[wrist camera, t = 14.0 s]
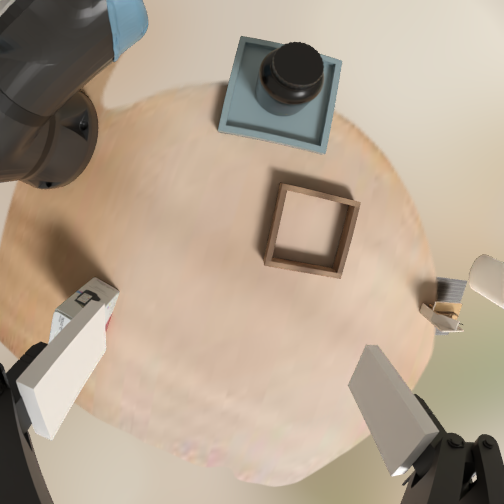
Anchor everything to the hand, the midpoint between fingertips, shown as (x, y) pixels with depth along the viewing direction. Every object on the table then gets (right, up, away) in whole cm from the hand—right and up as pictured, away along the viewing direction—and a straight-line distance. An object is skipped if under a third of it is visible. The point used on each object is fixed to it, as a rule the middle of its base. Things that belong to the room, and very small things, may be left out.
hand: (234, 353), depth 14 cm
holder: (+9, +8, +26) cm, 28 cm away
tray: (+5, +25, +21) cm, 33 cm away
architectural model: (+32, -5, +31) cm, 45 cm away
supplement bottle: (+4, +25, +21) cm, 33 cm away
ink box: (-23, -3, +28) cm, 36 cm away
